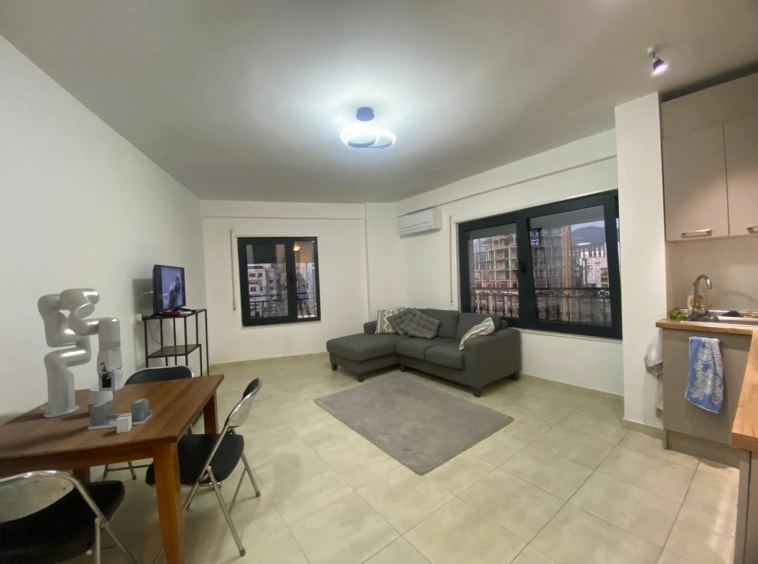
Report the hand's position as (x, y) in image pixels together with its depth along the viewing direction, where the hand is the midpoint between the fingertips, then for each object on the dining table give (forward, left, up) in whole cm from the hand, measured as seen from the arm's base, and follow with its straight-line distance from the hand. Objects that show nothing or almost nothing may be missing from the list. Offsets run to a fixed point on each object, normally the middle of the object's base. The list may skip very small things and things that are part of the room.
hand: (111, 385), depth 142 cm
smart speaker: (-15, +18, -18) cm, 29 cm away
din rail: (+3, +1, -18) cm, 18 cm away
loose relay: (+9, -8, -18) cm, 22 cm away
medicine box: (0, 0, -2) cm, 2 cm away
